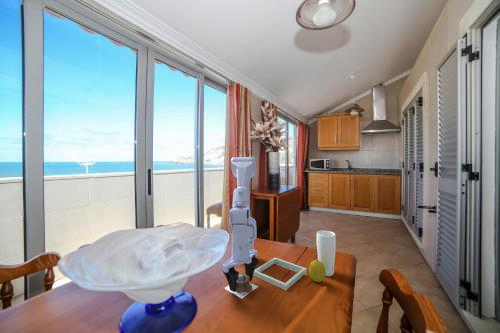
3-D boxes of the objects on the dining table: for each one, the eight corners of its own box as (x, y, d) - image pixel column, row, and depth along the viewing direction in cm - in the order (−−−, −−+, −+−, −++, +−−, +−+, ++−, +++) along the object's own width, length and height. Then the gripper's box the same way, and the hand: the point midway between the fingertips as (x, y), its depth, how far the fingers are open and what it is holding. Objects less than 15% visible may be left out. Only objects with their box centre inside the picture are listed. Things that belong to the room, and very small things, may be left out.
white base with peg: (224, 291, 68) (223, 276, 68) (241, 280, 74) (240, 267, 74) (241, 301, 63) (241, 286, 63) (258, 289, 69) (258, 275, 69)
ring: (229, 287, 68) (229, 278, 68) (241, 280, 72) (241, 272, 72) (245, 296, 64) (244, 286, 64) (256, 288, 68) (256, 279, 68)
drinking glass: (316, 276, 76) (315, 235, 76) (317, 267, 83) (316, 229, 82) (336, 279, 74) (336, 237, 73) (335, 270, 80) (335, 231, 80)
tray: (252, 277, 76) (252, 271, 76) (274, 263, 86) (274, 257, 86) (286, 293, 67) (286, 285, 66) (306, 275, 77) (306, 268, 77)
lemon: (326, 288, 69) (326, 264, 69) (309, 286, 70) (309, 262, 70) (324, 279, 74) (324, 256, 74) (308, 277, 75) (308, 255, 75)
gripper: (233, 254, 60) (233, 301, 60) (264, 240, 71) (264, 279, 71) (217, 248, 65) (218, 291, 65) (248, 235, 76) (249, 272, 76)
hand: (241, 284), depth 68 cm, fingers open, 7 cm apart
